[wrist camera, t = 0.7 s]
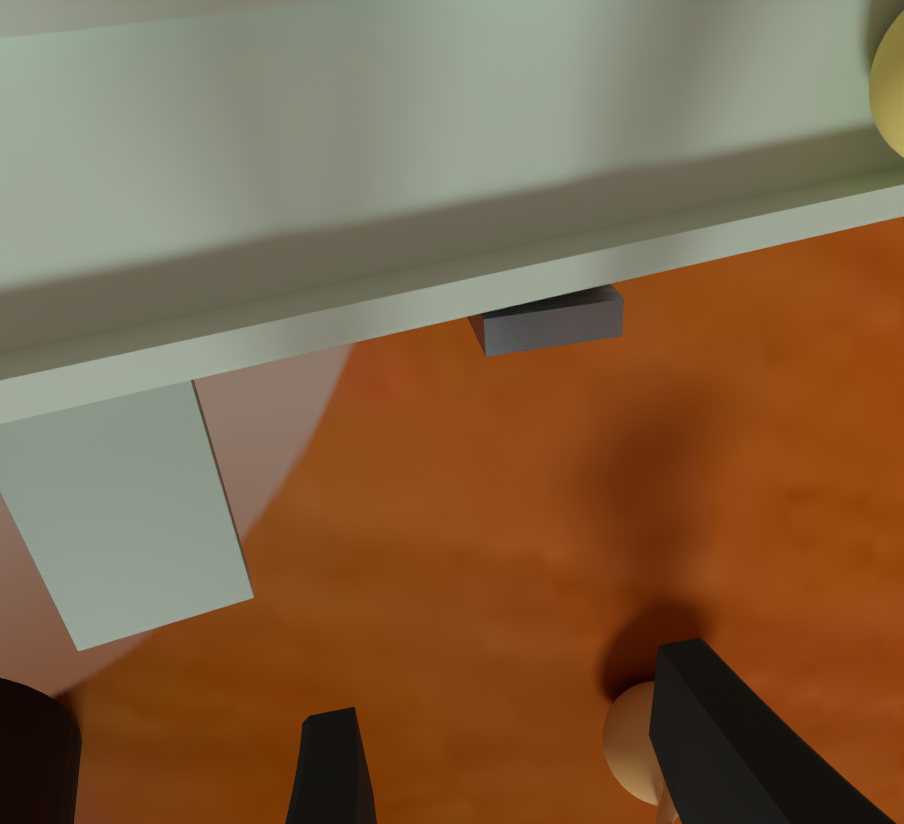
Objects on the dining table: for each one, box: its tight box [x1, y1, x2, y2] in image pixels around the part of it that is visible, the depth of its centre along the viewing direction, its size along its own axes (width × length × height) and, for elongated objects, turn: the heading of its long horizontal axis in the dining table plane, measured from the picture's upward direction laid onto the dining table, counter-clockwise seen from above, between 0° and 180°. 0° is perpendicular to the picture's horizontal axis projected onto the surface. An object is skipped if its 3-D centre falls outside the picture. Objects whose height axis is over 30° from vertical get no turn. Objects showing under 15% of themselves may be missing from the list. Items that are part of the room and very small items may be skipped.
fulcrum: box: [467, 284, 624, 357], centre depth 14 cm, size 5×8×6 cm, turn 4°
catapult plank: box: [0, 0, 904, 651], centre depth 13 cm, size 18×10×2 cm, turn 93°
